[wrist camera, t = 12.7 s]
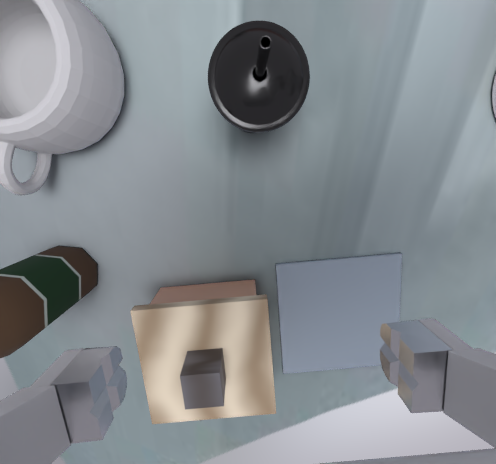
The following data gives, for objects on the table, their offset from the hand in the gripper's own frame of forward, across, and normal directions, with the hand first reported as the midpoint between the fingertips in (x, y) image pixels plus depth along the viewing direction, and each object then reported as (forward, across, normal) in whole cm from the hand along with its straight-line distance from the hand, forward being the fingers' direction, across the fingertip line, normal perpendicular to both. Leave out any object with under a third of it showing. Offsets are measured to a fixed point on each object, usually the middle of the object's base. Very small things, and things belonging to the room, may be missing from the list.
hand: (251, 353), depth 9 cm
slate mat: (+29, -12, +16) cm, 35 cm away
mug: (+29, +21, -15) cm, 39 cm away
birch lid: (+22, +6, +16) cm, 28 cm away
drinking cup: (+29, -2, -12) cm, 32 cm away
